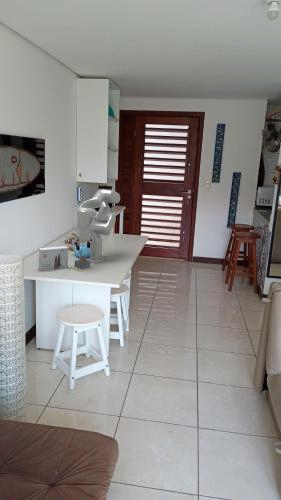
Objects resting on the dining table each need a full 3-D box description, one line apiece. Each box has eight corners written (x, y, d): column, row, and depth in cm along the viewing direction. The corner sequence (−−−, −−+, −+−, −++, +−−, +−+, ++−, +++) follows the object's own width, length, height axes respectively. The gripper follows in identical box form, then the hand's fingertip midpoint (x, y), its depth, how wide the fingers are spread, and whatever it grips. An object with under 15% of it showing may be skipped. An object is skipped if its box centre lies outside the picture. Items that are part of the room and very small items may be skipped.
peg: (83, 266, 287) (83, 257, 285) (86, 267, 284) (86, 258, 282) (78, 267, 284) (78, 258, 282) (81, 268, 281) (82, 259, 279)
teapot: (77, 259, 305) (78, 247, 302) (70, 254, 317) (71, 242, 315) (94, 258, 313) (94, 245, 310) (86, 253, 325) (87, 241, 322)
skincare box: (41, 271, 269) (41, 249, 265) (38, 269, 273) (38, 248, 269) (68, 268, 281) (68, 247, 277) (65, 266, 285) (65, 245, 282)
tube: (83, 264, 291) (83, 258, 290) (92, 268, 284) (92, 261, 282) (71, 267, 283) (71, 260, 282) (80, 270, 276) (80, 263, 275)
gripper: (89, 224, 285) (89, 246, 289) (70, 227, 273) (70, 249, 277) (96, 226, 280) (95, 248, 285) (76, 229, 268) (76, 252, 272)
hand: (83, 249), depth 281 cm, fingers open, 9 cm apart
